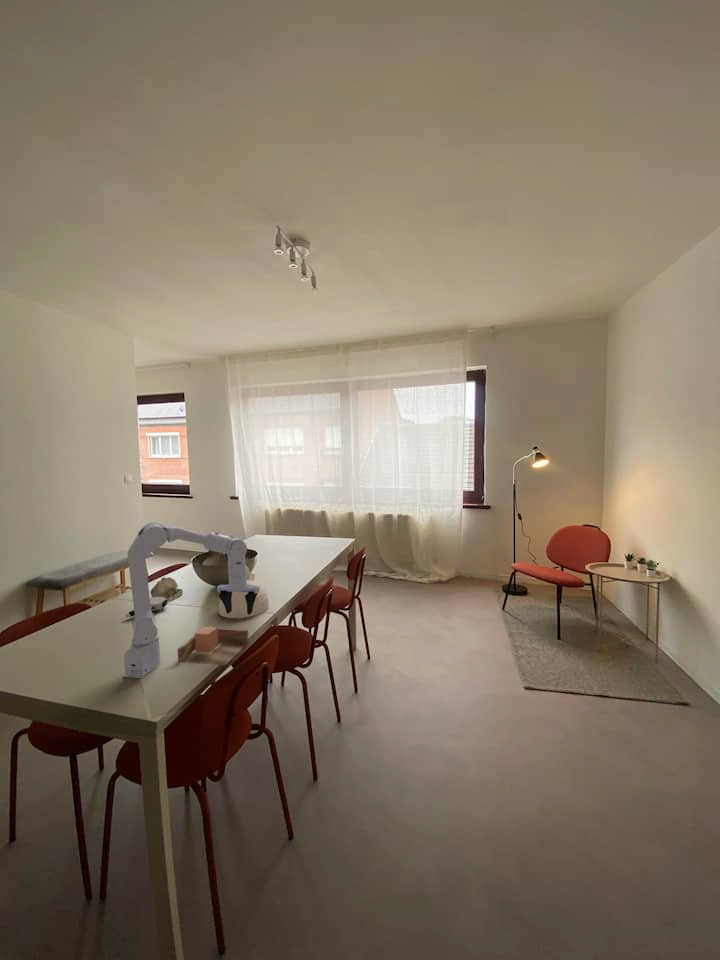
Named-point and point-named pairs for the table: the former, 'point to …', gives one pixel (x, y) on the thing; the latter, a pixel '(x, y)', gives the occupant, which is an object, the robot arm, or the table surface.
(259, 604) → the kettle
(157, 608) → the robot toy
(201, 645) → the cube
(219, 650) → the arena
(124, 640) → the table surface
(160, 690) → the table surface
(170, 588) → the ceramic model
